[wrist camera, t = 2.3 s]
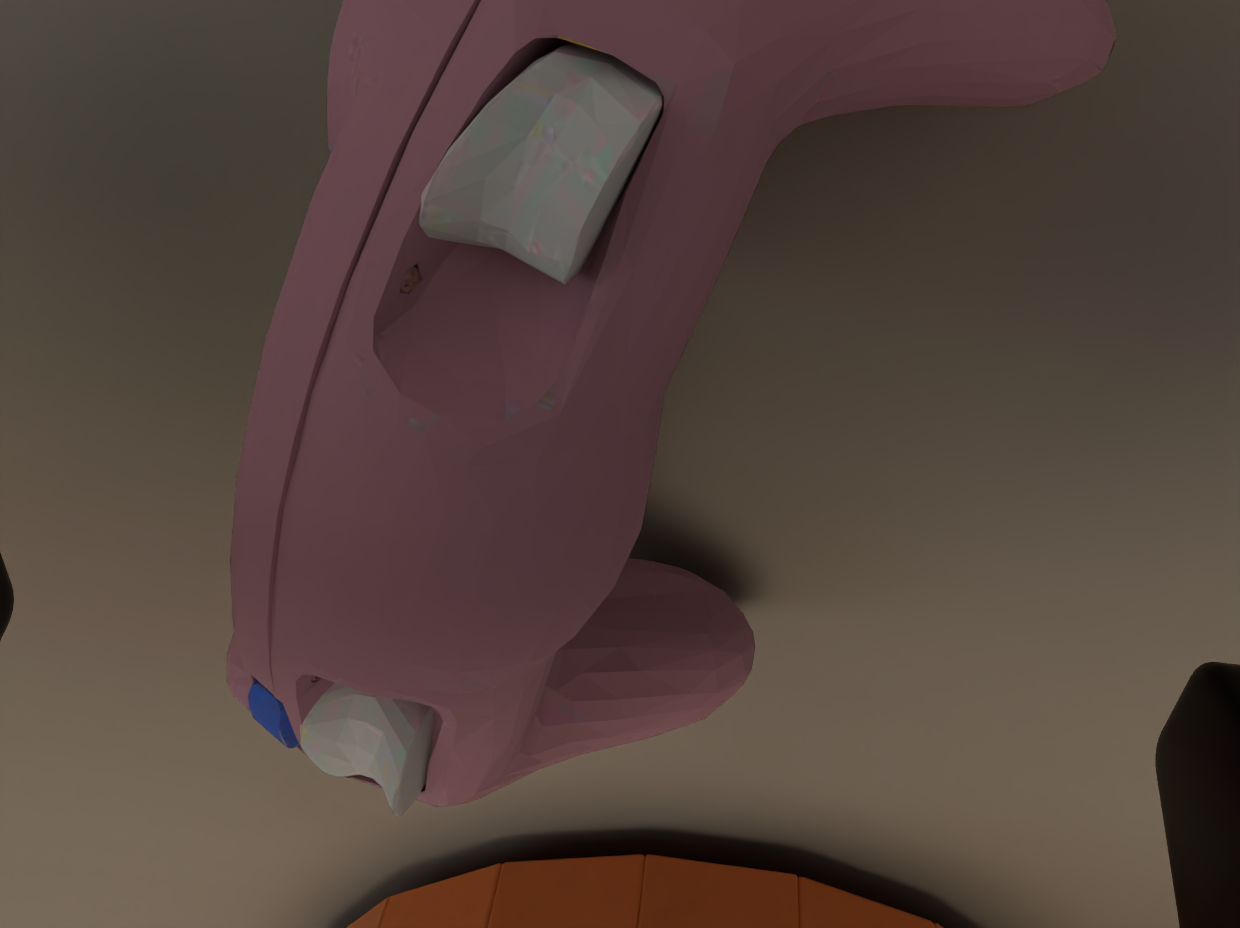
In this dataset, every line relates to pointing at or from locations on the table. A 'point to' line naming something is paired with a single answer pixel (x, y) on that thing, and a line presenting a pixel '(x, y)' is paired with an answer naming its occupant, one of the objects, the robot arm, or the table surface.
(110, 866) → the table surface
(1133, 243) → the table surface
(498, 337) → the video game controller
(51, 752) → the table surface
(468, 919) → the orange mixing bowl
